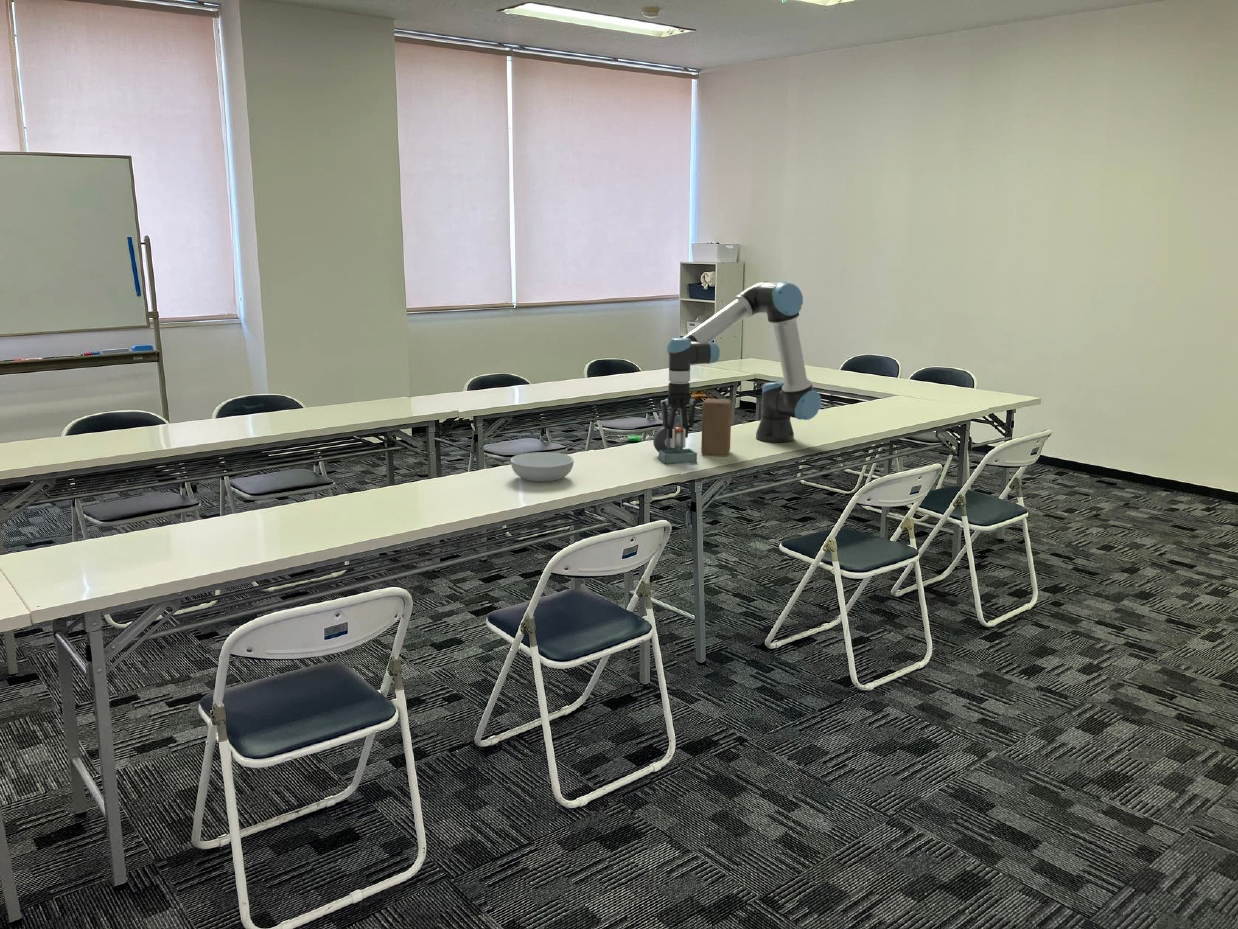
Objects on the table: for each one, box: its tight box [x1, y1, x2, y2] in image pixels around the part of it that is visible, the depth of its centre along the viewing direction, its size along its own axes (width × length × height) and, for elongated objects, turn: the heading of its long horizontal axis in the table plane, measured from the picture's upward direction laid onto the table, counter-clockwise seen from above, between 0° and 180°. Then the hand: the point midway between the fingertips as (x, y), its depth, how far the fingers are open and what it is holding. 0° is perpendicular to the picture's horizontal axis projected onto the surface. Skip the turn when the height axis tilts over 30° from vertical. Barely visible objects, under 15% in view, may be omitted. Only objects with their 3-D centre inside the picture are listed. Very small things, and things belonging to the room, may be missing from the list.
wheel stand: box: [652, 410, 684, 453], centre depth 341 cm, size 11×6×16 cm, turn 105°
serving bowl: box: [510, 451, 575, 483], centre depth 308 cm, size 21×21×7 cm
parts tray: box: [658, 448, 698, 465], centre depth 335 cm, size 12×8×4 cm, turn 105°
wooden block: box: [700, 398, 733, 457], centre depth 346 cm, size 10×10×20 cm
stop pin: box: [673, 426, 684, 453], centre depth 333 cm, size 3×3×9 cm
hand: (677, 446), depth 334 cm, fingers closed on stop pin, 3 cm apart
